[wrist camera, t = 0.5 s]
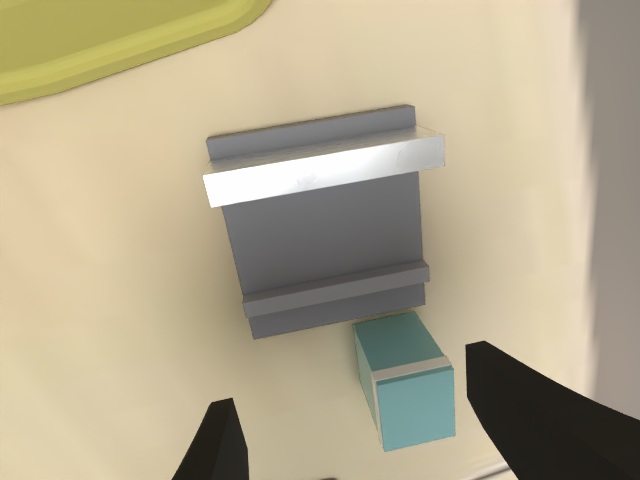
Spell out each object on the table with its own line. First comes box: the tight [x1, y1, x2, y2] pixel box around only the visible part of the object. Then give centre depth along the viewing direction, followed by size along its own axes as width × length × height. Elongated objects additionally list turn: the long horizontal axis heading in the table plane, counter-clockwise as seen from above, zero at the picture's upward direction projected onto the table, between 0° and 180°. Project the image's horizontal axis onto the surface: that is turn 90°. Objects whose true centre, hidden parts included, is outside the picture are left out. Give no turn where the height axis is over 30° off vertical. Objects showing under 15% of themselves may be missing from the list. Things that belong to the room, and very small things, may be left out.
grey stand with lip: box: [206, 105, 430, 340], centre depth 20 cm, size 10×9×2 cm
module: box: [353, 311, 455, 452], centre depth 22 cm, size 4×4×5 cm
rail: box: [203, 125, 445, 207], centre depth 17 cm, size 1×9×3 cm, turn 98°
